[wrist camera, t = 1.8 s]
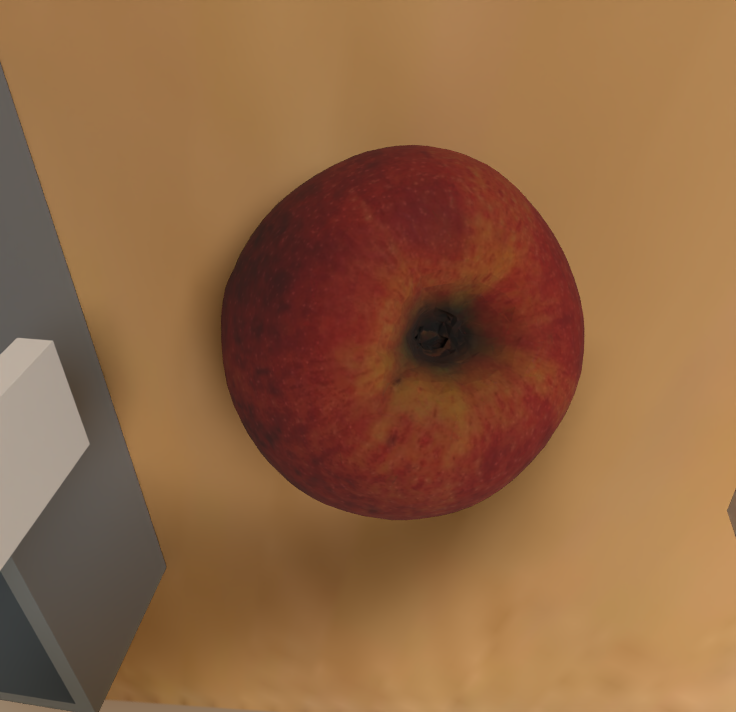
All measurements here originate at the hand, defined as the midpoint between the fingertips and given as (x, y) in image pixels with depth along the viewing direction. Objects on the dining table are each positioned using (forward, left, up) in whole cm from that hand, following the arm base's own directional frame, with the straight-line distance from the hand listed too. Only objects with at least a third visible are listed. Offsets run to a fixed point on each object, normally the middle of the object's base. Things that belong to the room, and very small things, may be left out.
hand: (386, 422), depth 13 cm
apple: (0, 0, -6) cm, 6 cm away
